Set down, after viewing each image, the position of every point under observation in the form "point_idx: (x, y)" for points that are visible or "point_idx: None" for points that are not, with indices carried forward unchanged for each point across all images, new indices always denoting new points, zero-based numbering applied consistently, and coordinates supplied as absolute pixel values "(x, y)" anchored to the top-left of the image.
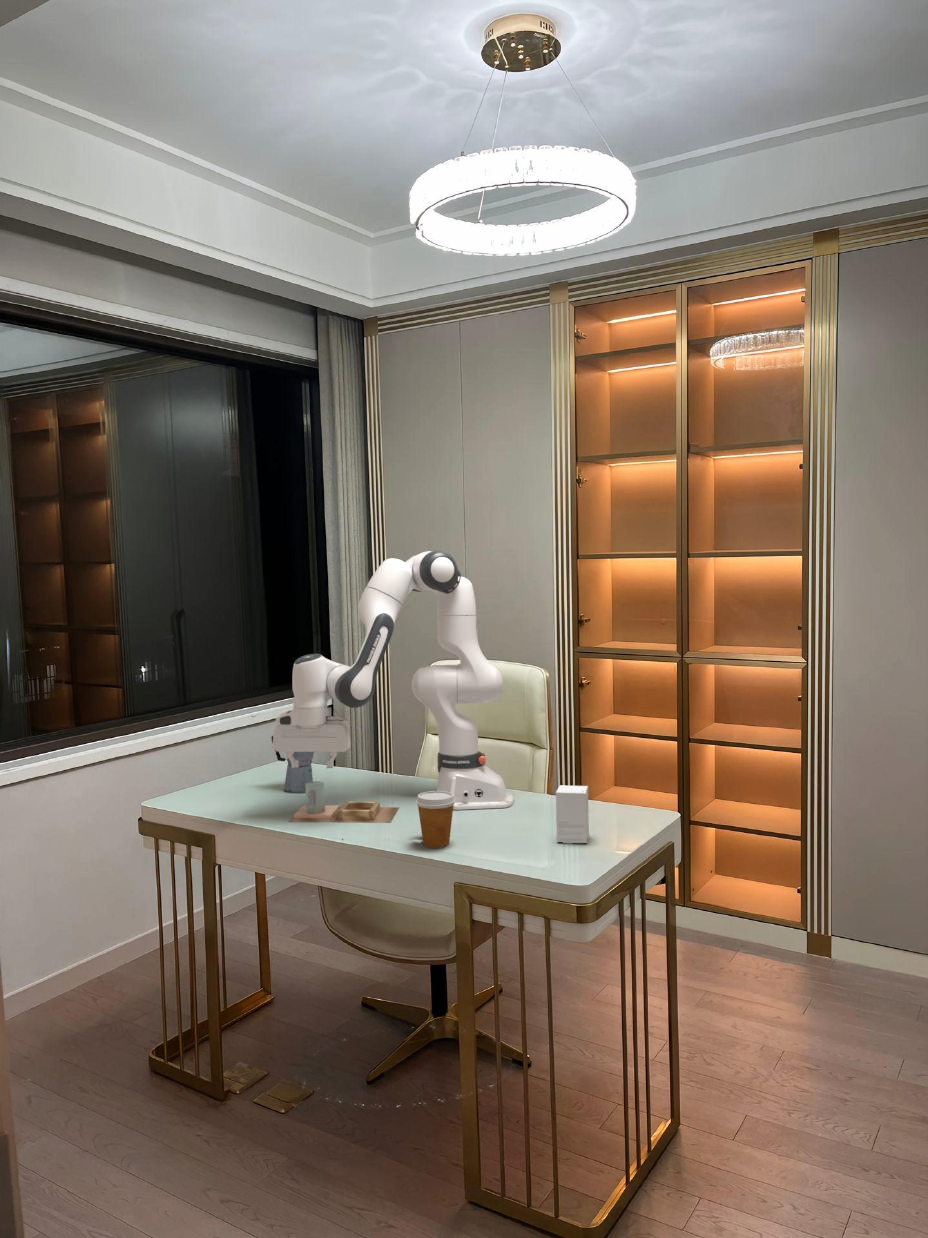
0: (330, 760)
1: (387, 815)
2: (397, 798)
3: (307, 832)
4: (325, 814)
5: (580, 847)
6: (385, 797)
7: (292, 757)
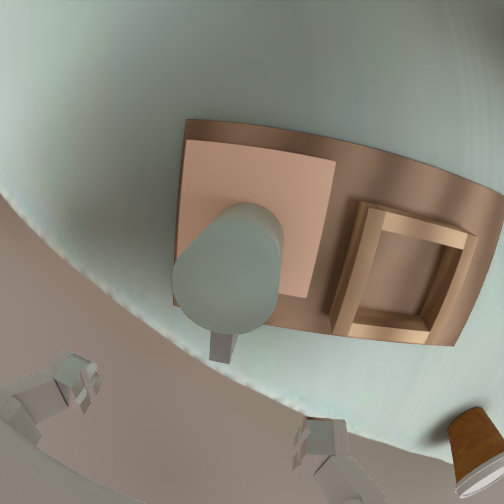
0: (320, 486)
1: (468, 282)
2: (491, 48)
3: (242, 362)
4: (287, 284)
5: None
6: (460, 22)
7: (40, 406)
